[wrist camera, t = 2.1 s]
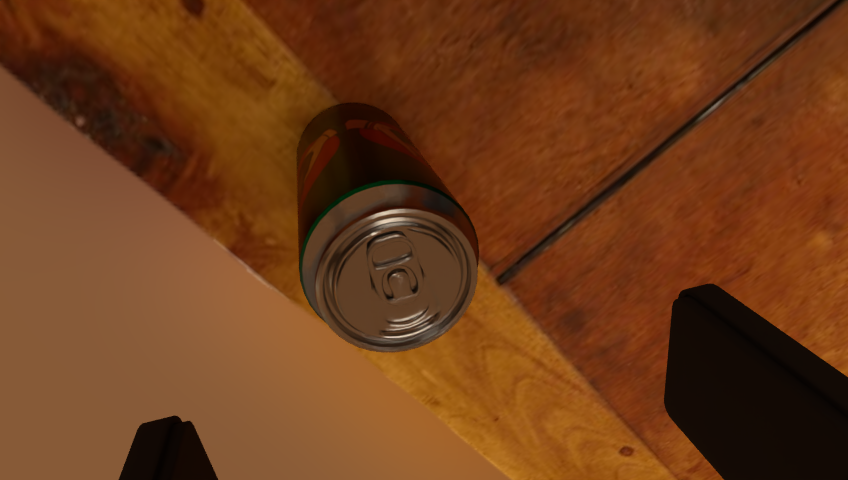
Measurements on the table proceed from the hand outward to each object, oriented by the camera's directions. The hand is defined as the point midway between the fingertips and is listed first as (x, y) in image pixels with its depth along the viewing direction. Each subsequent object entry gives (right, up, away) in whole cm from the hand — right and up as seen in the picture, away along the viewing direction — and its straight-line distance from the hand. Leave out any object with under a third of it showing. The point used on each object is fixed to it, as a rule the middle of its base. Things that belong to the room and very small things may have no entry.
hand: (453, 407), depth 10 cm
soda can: (-4, +7, +14) cm, 17 cm away
